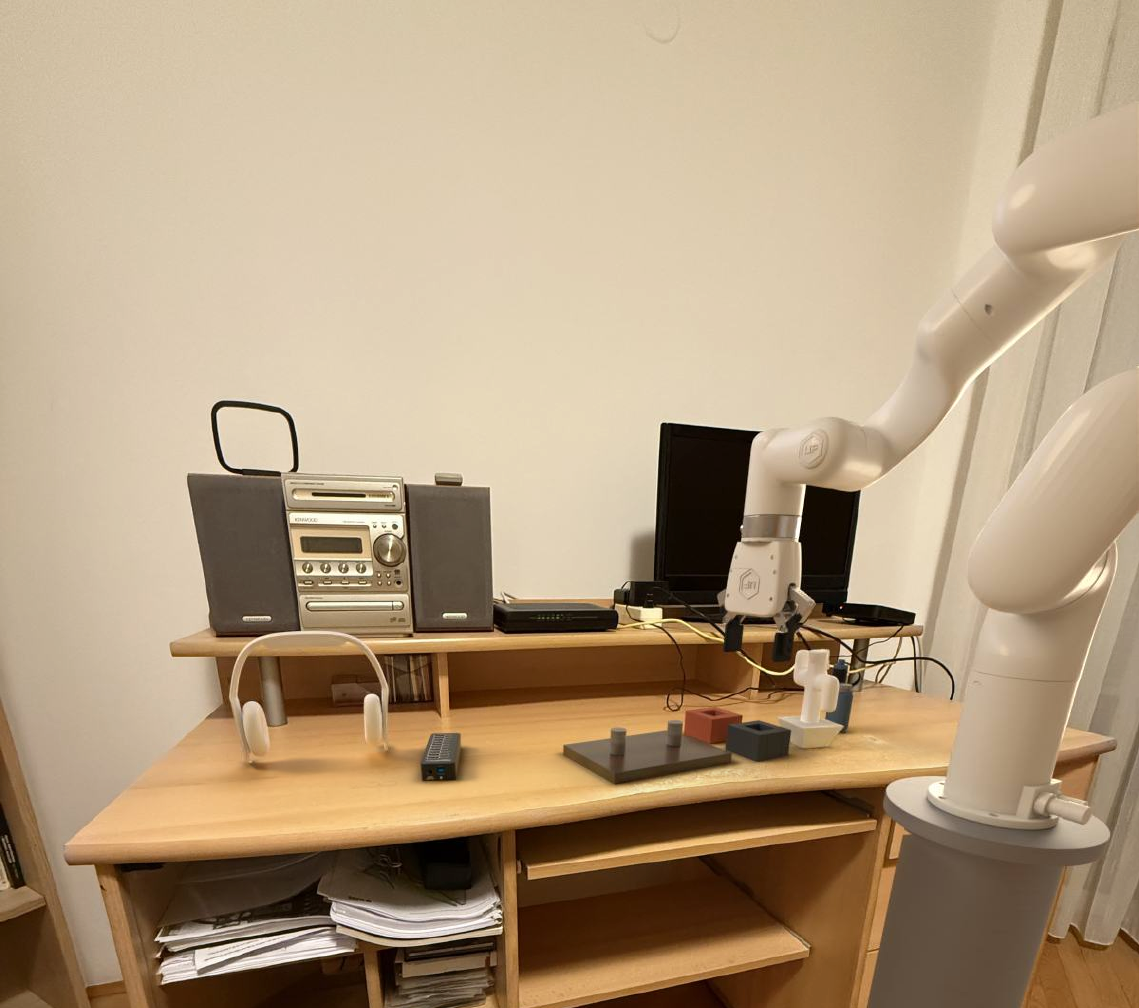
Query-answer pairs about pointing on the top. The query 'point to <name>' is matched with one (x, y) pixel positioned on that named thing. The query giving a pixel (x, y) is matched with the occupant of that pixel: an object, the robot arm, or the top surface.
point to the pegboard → (645, 754)
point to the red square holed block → (710, 723)
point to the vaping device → (842, 697)
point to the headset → (252, 715)
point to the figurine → (813, 701)
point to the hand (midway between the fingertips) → (755, 656)
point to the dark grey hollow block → (758, 740)
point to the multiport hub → (441, 757)
